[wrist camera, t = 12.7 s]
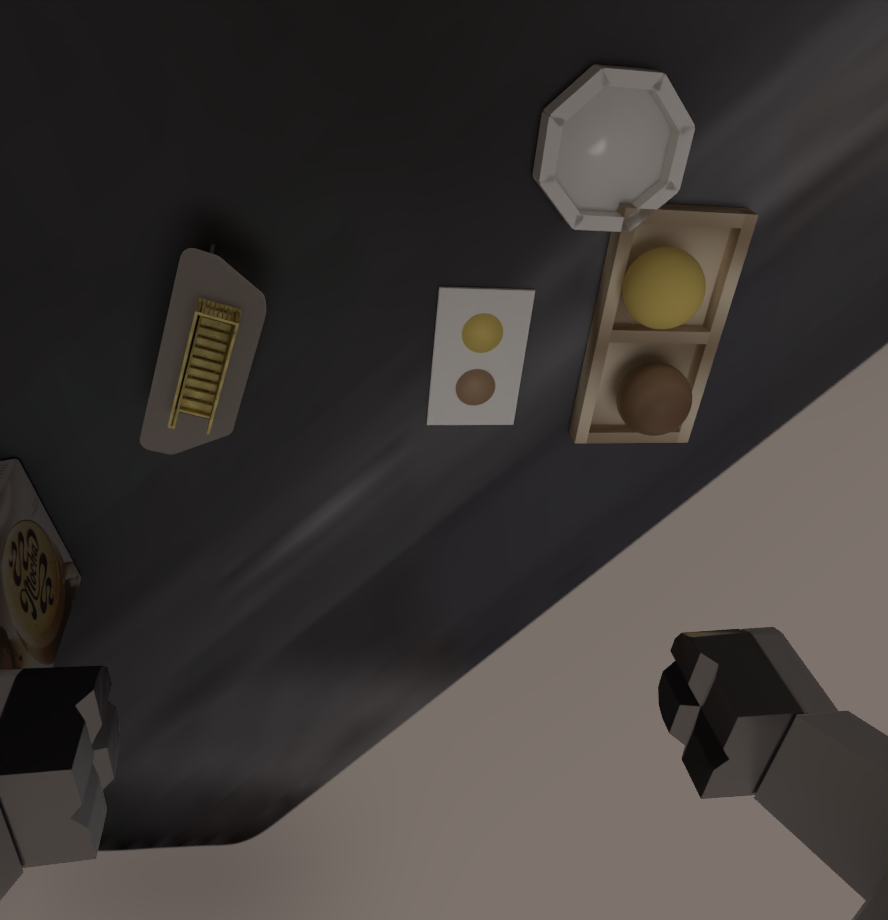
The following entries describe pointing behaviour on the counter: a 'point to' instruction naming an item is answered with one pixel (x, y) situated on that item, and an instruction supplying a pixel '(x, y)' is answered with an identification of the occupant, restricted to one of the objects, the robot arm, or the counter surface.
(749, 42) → the counter surface
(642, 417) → the walnut ball
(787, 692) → the robot arm
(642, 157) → the white bowl
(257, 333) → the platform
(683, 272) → the mustard ball
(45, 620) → the coffee box
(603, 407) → the twin rack
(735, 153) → the counter surface
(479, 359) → the card
